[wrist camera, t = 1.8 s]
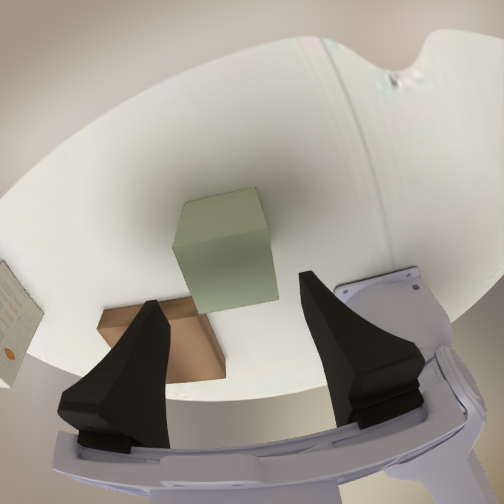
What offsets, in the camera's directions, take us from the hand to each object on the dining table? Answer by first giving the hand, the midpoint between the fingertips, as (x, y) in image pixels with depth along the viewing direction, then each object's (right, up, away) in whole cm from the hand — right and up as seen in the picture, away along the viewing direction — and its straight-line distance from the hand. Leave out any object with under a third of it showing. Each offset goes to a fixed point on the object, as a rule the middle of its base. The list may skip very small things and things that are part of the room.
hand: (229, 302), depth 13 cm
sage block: (-1, +4, +7) cm, 8 cm away
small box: (-26, -2, +9) cm, 27 cm away
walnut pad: (-8, -6, +13) cm, 17 cm away
